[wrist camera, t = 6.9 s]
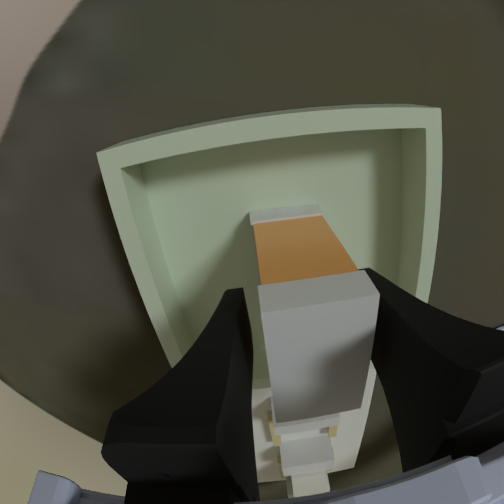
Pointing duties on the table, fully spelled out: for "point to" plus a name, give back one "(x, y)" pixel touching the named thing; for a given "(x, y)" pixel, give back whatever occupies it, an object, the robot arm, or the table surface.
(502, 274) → the table surface
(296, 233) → the block
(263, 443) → the fuse block
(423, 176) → the tray
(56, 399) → the table surface
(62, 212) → the table surface
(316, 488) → the block
